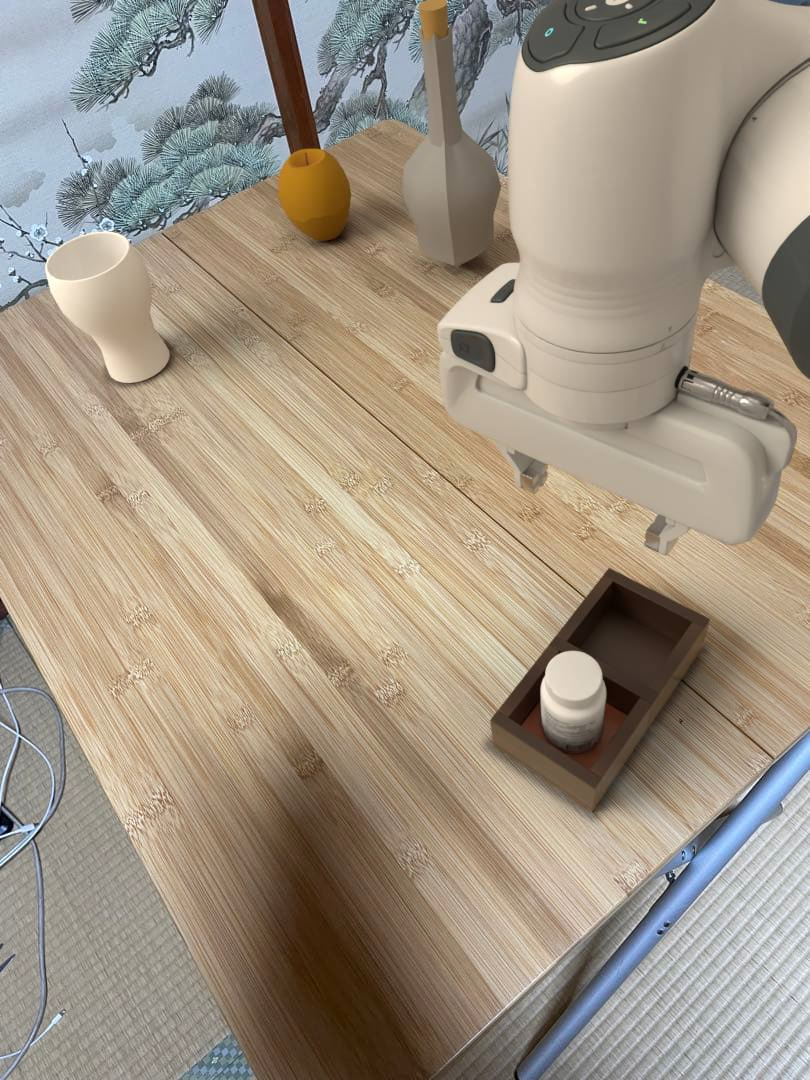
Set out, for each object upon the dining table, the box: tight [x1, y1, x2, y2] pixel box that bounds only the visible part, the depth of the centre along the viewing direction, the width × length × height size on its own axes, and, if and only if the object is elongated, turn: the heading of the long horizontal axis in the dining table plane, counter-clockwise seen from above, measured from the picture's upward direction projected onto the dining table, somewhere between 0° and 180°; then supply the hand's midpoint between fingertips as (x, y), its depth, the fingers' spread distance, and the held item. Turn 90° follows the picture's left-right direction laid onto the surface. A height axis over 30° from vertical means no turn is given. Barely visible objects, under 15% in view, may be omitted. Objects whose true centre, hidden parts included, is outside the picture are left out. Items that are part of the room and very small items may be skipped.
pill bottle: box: [541, 651, 606, 754], centre depth 62 cm, size 5×5×8 cm
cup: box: [44, 231, 171, 384], centre depth 97 cm, size 11×11×15 cm
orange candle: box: [277, 148, 352, 242], centre depth 111 cm, size 10×10×12 cm
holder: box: [489, 567, 711, 813], centre depth 66 cm, size 17×9×5 cm, turn 141°
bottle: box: [401, 0, 502, 269], centre depth 95 cm, size 11×11×30 cm
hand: (593, 512), depth 53 cm, fingers open, 8 cm apart
